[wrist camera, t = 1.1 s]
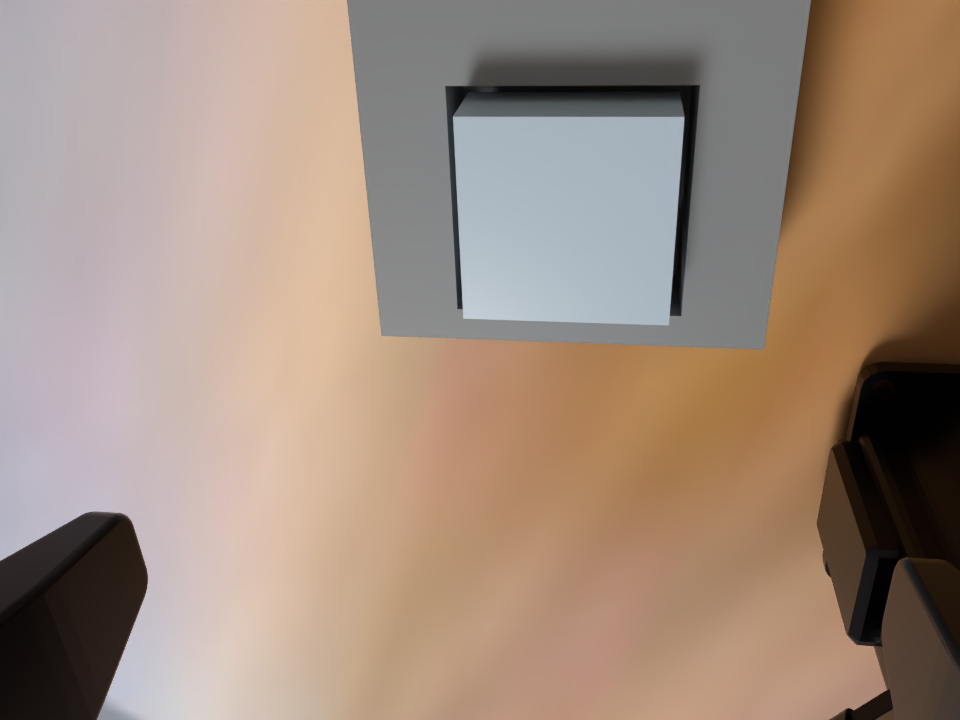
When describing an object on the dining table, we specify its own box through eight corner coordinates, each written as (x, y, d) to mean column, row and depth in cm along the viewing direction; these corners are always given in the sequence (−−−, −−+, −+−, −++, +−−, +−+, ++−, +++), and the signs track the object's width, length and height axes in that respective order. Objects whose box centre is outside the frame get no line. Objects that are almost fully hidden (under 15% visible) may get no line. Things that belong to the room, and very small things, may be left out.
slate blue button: (679, 91, 17) (684, 117, 15) (665, 285, 19) (668, 325, 17) (468, 92, 18) (452, 116, 16) (476, 280, 20) (463, 318, 18)
